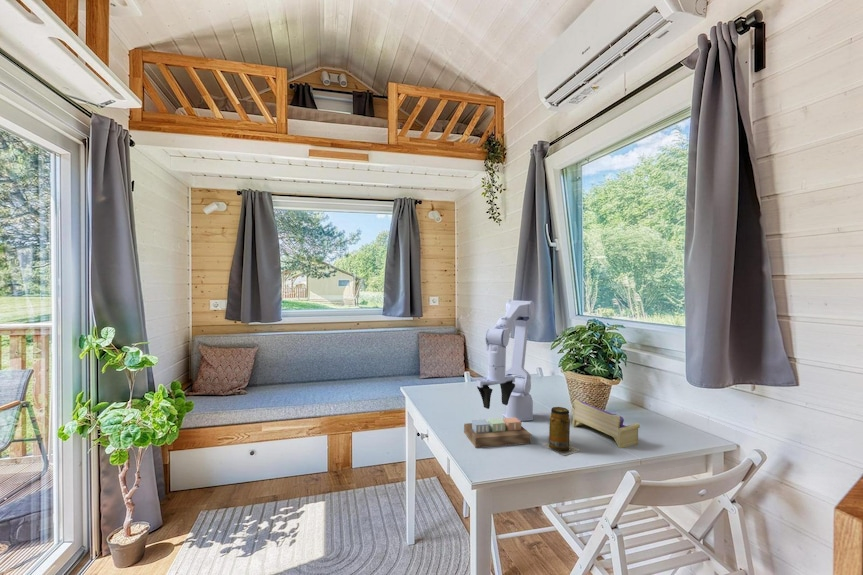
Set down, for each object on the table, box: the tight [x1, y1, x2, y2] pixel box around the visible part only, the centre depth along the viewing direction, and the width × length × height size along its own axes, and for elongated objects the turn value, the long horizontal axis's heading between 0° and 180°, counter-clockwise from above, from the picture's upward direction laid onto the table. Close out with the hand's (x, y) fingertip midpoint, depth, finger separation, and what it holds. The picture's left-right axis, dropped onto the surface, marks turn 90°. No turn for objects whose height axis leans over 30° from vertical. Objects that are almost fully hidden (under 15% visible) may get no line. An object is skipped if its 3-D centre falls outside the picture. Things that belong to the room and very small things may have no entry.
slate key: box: [471, 419, 489, 433], centre depth 129 cm, size 4×4×3 cm
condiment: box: [542, 406, 581, 456], centre depth 124 cm, size 7×8×12 cm
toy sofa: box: [571, 398, 641, 449], centre depth 135 cm, size 21×9×10 cm, turn 27°
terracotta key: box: [502, 417, 522, 431], centre depth 132 cm, size 4×4×3 cm
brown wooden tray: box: [463, 422, 532, 449], centre depth 131 cm, size 18×12×3 cm, turn 102°
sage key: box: [487, 417, 506, 432], centre depth 131 cm, size 4×4×3 cm
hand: (495, 406), depth 131 cm, fingers open, 7 cm apart
